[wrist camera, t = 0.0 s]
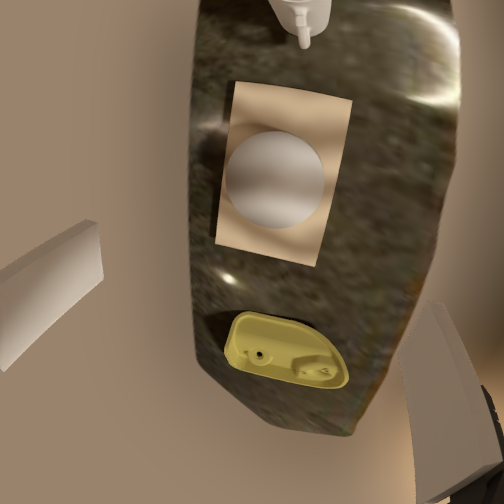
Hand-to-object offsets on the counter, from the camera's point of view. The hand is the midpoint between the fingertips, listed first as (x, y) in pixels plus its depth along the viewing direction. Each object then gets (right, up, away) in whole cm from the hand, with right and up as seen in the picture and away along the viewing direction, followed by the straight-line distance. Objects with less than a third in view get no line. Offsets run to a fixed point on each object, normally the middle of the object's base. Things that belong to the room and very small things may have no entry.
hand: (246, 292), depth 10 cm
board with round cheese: (+4, +11, +25) cm, 28 cm away
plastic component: (+7, -15, +37) cm, 41 cm away
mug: (+7, +29, +17) cm, 34 cm away
